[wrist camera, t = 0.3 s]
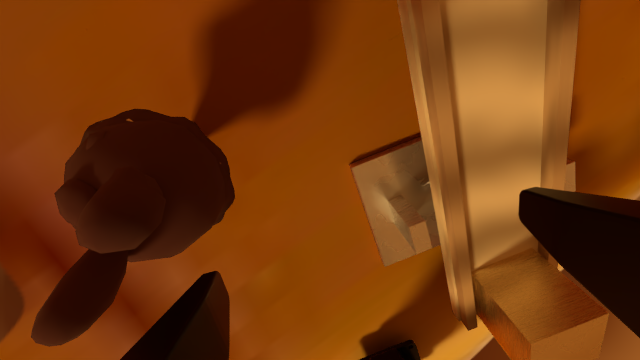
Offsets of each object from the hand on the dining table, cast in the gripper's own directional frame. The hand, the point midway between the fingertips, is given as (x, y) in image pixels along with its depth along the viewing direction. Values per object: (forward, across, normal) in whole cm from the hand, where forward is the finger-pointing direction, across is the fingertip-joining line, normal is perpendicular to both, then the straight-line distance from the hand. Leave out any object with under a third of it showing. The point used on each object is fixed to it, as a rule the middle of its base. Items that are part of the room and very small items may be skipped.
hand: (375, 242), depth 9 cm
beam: (+11, -11, +7) cm, 17 cm away
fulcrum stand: (+15, -11, +7) cm, 20 cm away
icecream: (+15, +8, -1) cm, 18 cm away
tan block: (+11, -12, +14) cm, 22 cm away
